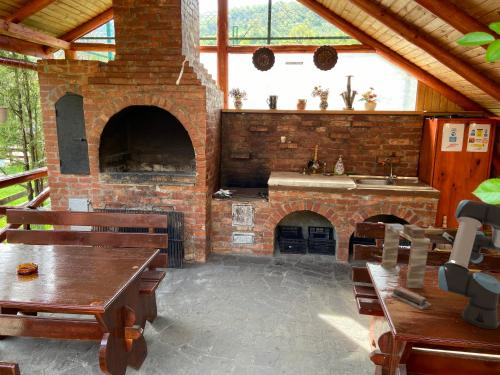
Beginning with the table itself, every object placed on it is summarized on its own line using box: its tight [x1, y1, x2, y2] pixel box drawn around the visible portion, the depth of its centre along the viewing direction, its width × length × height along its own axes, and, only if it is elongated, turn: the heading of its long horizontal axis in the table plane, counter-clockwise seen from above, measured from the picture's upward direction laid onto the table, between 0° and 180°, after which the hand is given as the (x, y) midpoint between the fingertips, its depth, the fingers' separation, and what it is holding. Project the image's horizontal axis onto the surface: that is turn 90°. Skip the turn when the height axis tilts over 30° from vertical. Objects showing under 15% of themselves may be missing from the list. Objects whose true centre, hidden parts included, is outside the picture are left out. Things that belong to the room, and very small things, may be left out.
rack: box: [380, 223, 431, 289], centre depth 219 cm, size 32×10×30 cm, turn 8°
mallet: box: [403, 224, 444, 238], centre depth 209 cm, size 10×22×5 cm, turn 98°
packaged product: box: [390, 286, 432, 311], centre depth 190 cm, size 18×5×10 cm
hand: (436, 230), depth 210 cm, fingers open, 13 cm apart
